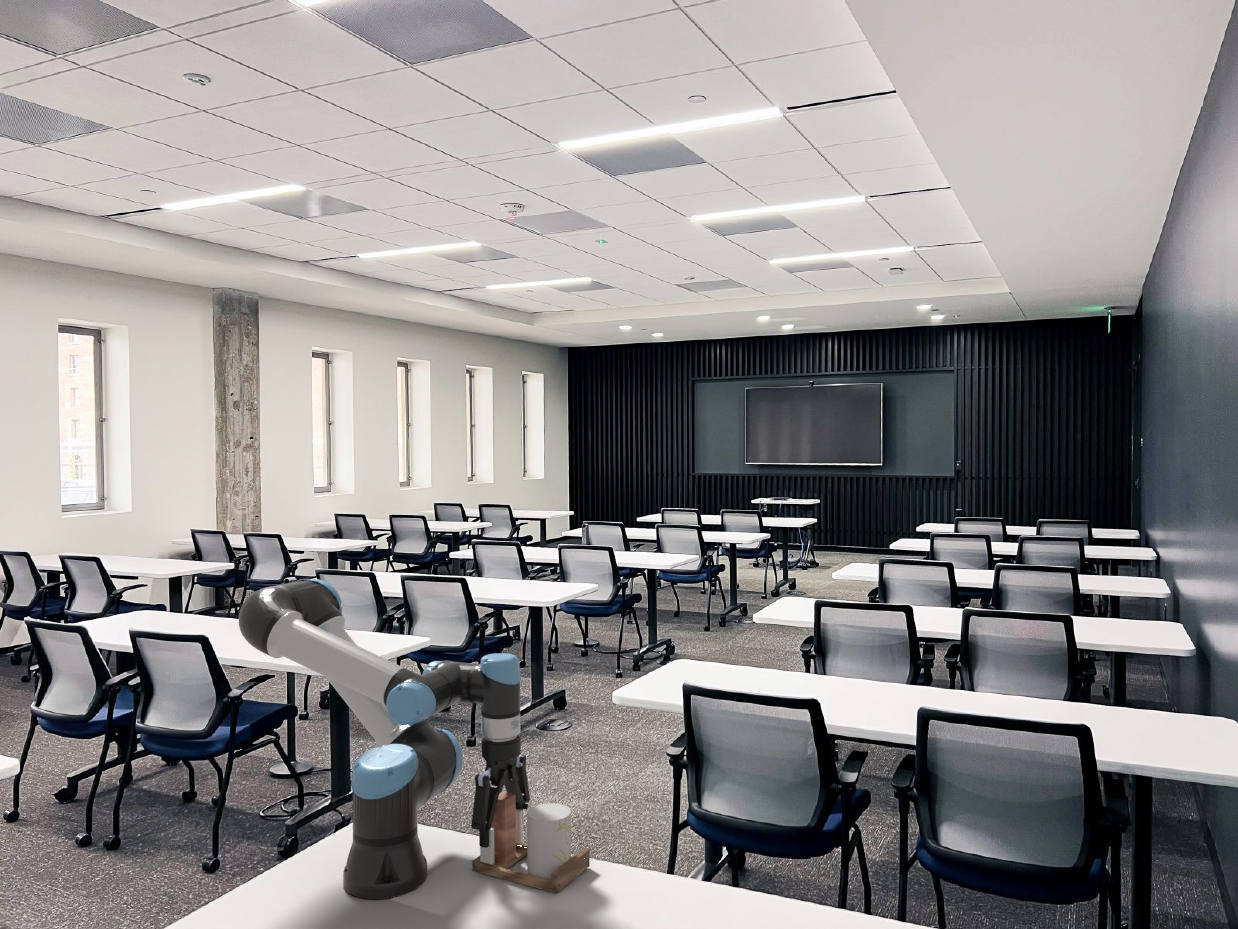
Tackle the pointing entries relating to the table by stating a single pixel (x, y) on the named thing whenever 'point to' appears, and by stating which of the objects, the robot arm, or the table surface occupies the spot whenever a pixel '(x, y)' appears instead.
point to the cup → (548, 839)
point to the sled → (523, 852)
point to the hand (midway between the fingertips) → (502, 852)
